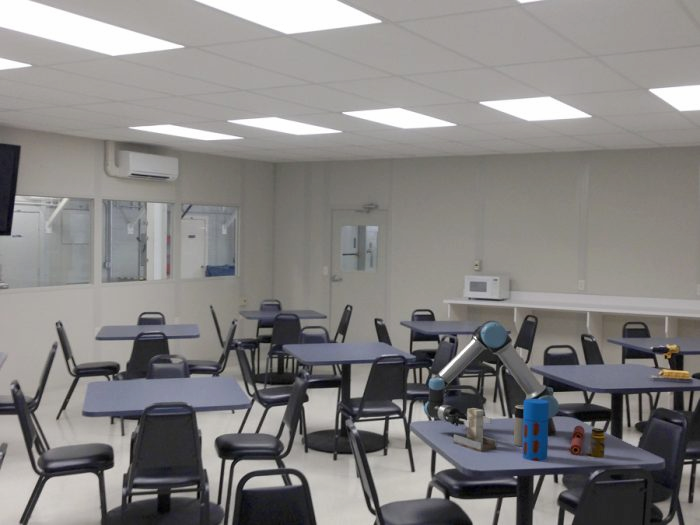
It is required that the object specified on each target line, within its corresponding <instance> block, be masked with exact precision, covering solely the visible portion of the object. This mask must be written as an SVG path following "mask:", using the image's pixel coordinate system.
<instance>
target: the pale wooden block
mask: <svg viewBox="0 0 700 525" xmlns="http://www.w3.org/2000/svg"><path fill="white" fill-rule="evenodd" d="M466 412H467V421H470V427H466V438H469V439H472V440H475V441H478V442H482V445H483V436H484V422H483V415H485V414H484V412H485V411H484V410H483V409H481V408H476V407H471V408H467V411H466Z"/></svg>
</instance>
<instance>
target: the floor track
mask: <svg viewBox="0 0 700 525" xmlns="http://www.w3.org/2000/svg"><path fill="white" fill-rule="evenodd" d="M497 443H498V440H497V439H493V438H490V437H487V436H484V435H483V445H482V442H478V441H475V440H472V439H469V438H467V437H466V436H465V437H464V436H463V435H457V434H453V444H455V445H458V446H461V447H464V448H467V449H470V450H473V451H476V452H479V453H481V452H486V451H493V450H497V447H498V446H497Z"/></svg>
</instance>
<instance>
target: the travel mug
mask: <svg viewBox="0 0 700 525" xmlns="http://www.w3.org/2000/svg"><path fill="white" fill-rule="evenodd" d="M523 411H524V404H520V405H519V404H518V405H515V412H514V420H513V421H514V426H513V427H514V428H513V429H514V430H513V444H514V445H515V446H516V445H517V446H518V447H523ZM517 446H516V447H517Z"/></svg>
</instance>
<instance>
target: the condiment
mask: <svg viewBox="0 0 700 525" xmlns="http://www.w3.org/2000/svg"><path fill="white" fill-rule="evenodd" d="M605 439H606V437H605V430H604V429H602V428H598V427H597V428H592V429H591V435H590V447H589V448H590V449H589V450H590V451H589V452H590V453H583V455H584V456H586V457H588V458H589V459H605V458H608V456H605V446H606V445H605V444H606V443H605V442H606V440H605Z"/></svg>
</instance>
